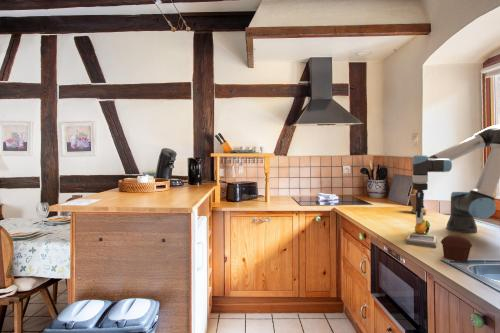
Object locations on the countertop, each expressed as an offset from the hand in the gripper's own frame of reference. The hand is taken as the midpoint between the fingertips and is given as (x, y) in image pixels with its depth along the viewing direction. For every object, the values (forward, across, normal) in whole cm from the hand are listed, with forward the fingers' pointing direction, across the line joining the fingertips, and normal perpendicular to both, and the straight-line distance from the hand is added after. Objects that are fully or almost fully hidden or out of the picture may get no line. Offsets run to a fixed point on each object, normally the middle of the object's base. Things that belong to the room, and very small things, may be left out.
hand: (419, 221), depth 175 cm
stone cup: (+8, -69, -6) cm, 69 cm away
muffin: (+8, +36, +17) cm, 41 cm away
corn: (+7, +1, +1) cm, 7 cm away
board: (+7, +16, +2) cm, 18 cm away
